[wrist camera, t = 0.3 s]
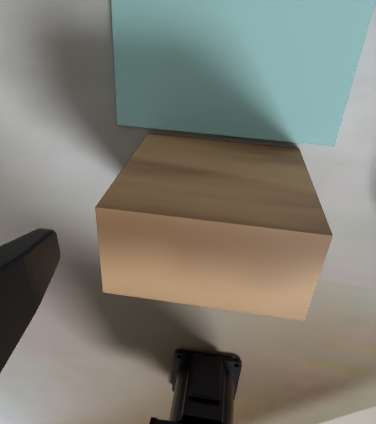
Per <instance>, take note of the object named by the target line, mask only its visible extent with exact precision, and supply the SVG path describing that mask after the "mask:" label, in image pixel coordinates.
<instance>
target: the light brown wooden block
mask: <svg viewBox="0 0 376 424" xmlns="http://www.w3.org/2000/svg"><path fill="white" fill-rule="evenodd" d="M95 210H96V221H97V232H98V243H99V254H100V265H101V276H102V287H103V293H111V294H118V295H125V296H132V297H139V298H146V299H153V300H160V301H167V302H175V303H182V304H189V305H196V306H203V307H210V308H217V309H224V310H232V311H239V312H246V313H253V314H260V315H267V316H274V317H281V318H289V319H296V320H303V321H305V318H306V315H307V312H308V309H309V306H310V303H311V300H312V297H313V294H314V291H315V288H316V285H317V282H318V279H319V275H320V272H321V269H322V266H323V263H324V260H325V257H326V254H327V251H328V248H329V245H330V242H331V239H332V236H333V235H332V233H331V230H330V228H329V225H328V222H327V220H326V217H325V215H324V212H323V209H322V207H321V204H320V202H319V199H318V196H317V194H316V191H315V189H314V186H313V183H312V181H311V178H310V176H309V173H308V170H307V168H306V165H305V163H304V160H303V157H302V155H301V152H300V150H299V149H296V148H287V147H277V146H267V145H257V144H247V143H237V142H227V141H217V140H207V139H197V138H188V137H178V136H168V135H158V134H147V135H146V137H145V138H144V140H143V141H142V142H141V144H140V145H139V147H138V148H137V149H136V151H135V152H134V154H133V155H132V156H131V158H130V159H129V161H128V162H127V163H126V165H125V166H124V168H123V169H122V170H121V172H120V173H119V175H118V176H117V177H116V179H115V180H114V182H113V183H112V184H111V186H110V187H109V189H108V190H107V191H106V193H105V194H104V196H103V197H102V198H101V200H100V201H99V203H98V204H97V206H96V207H95Z"/></svg>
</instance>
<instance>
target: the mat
mask: <svg viewBox="0 0 376 424" xmlns="http://www.w3.org/2000/svg"><path fill="white" fill-rule="evenodd" d="M375 2H376V0H111V7H112V29H113V50H114V71H115V93H116V114H117V125H124V126H134V127H144V128H154V129H164V130H174V131H184V132H194V133H204V134H214V135H224V136H234V137H244V138H254V139H264V140H274V141H284V142H294V143H304V144H314V145H324V146H334V145H335V141H336V138H337V134H338V131H339V127H340V124H341V121H342V117H343V114H344V110H345V107H346V103H347V100H348V96H349V93H350V89H351V86H352V82H353V79H354V75H355V72H356V68H357V65H358V61H359V58H360V54H361V51H362V47H363V44H364V40H365V37H366V33H367V30H368V26H369V23H370V19H371V16H372V13H373V9H374V6H375Z"/></svg>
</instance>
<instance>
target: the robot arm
mask: <svg viewBox="0 0 376 424" xmlns="http://www.w3.org/2000/svg"><path fill="white" fill-rule="evenodd" d="M59 260H60V249H59V244H58V239H57V235H56V232H55V231H54V230H51V229H44V228H39V229H36V230H34V231H32V232H30V233H28V234H26V235H24V236H21V237H19V238H17V239H15V240H13V241H11V242H9V243H6V244H4V245H2V246H0V373H1V371H2V369H3V367H4V366H5V364H6V362H7V361H8V359H9V357H10V356H11V354H12V352H13V350H14V349H15V347H16V345H17V344H18V342H19V340H20V338H21V337H22V335H23V333H24V332H25V330H26V328H27V327H28V325H29V323H30V321H31V320H32V318H33V316H34V314H35V313H36V311H37V309H38V307H39V305H40V303H41V301H42V299H43V296H44V294H45V292H46V290H47V287H48V285H49V283H50V281H51V278H52V276H53V274H54V272H55V269H56V267H57V265H58V263H59ZM241 367H242V361H241V360H240V359H237V358H231V357H224V356H218V355H211V354H204V353H198V352H191V351H185V350H176V351H175V355H174V370H173V387H172V390H173V392H174V395H173V401H172V407H171V413H170V418H169V421H167V420H160V419H157V418H154V417H151V420H150V423H149V424H233V402H234V399H235V394H236V390H237V385H238V380H239V376H240V371H241Z"/></svg>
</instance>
